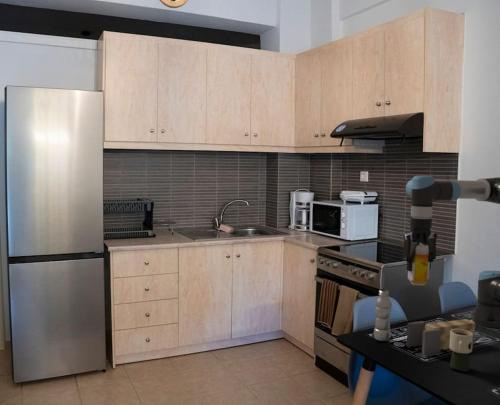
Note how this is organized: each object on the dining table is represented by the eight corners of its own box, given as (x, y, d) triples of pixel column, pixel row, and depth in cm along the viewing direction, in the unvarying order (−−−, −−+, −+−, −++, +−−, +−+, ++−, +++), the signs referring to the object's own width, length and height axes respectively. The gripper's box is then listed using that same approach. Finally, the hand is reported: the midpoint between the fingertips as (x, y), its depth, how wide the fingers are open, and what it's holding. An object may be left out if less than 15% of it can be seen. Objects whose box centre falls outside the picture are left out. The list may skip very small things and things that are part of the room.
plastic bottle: (393, 340, 192) (395, 290, 190) (385, 344, 187) (387, 293, 185) (378, 335, 196) (380, 287, 195) (370, 340, 191) (372, 290, 190)
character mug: (471, 377, 160) (473, 339, 159) (447, 373, 163) (449, 335, 161) (470, 364, 170) (472, 328, 169) (448, 361, 173) (450, 325, 171)
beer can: (428, 286, 178) (430, 246, 177) (411, 285, 179) (412, 245, 178) (425, 282, 184) (427, 243, 183) (408, 281, 185) (410, 242, 184)
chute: (419, 342, 190) (420, 320, 189) (441, 354, 178) (442, 330, 177) (404, 344, 187) (405, 322, 186) (426, 356, 176) (427, 332, 175)
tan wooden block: (464, 341, 193) (466, 319, 192) (473, 345, 189) (475, 322, 188) (424, 347, 186) (425, 324, 185) (432, 351, 181) (433, 328, 181)
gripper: (434, 215, 186) (431, 274, 188) (393, 217, 180) (390, 278, 182) (449, 218, 179) (445, 279, 181) (406, 219, 173) (403, 283, 175)
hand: (418, 278), depth 181 cm, fingers closed on beer can, 6 cm apart
